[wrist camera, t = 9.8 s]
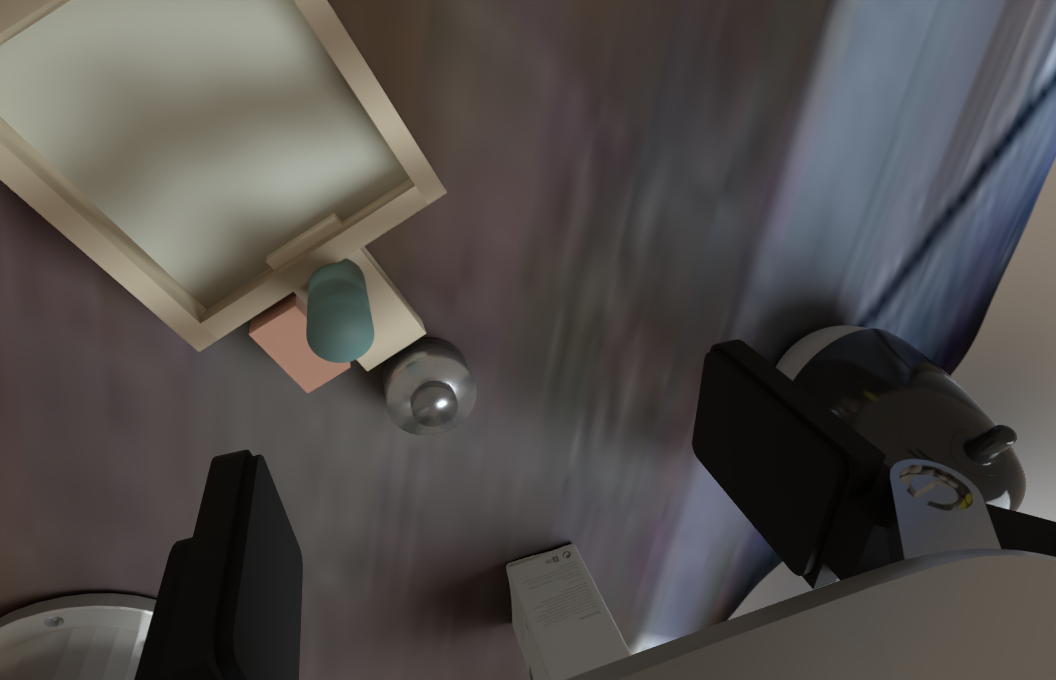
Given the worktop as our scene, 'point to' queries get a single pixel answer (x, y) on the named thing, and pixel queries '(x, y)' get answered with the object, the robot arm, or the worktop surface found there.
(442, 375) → the hub
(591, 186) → the worktop surface
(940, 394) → the grey dome gadget
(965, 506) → the robot arm
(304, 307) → the pink rectangular block
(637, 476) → the worktop surface
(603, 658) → the skincare box
